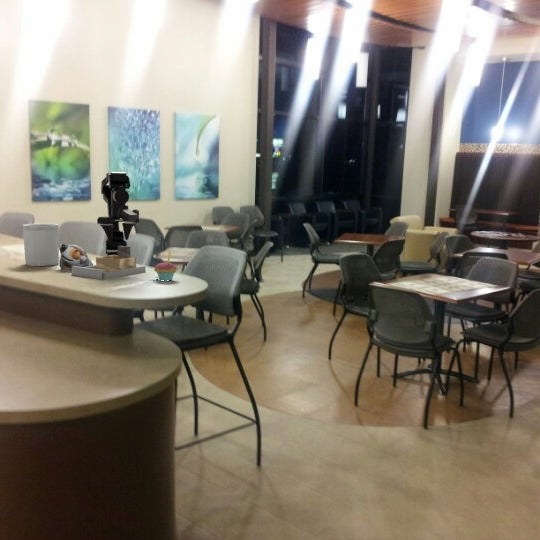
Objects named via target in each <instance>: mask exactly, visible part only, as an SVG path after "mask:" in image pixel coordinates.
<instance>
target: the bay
mask: <svg viewBox="0 0 540 540" xmlns="http://www.w3.org/2000/svg"><path fill="white" fill-rule="evenodd" d="M141 273H143V274H144V273H147V271H146V265H142V266H136V267H134V268H128V269H122V270H116V271H110V272H106V270H101V269H96V264H95V265H94V264H93V266H87V267H79V266H72V269H71V275H72V276H78V277H84V278H90V279H98V280H99V279H100V280H108V279H115V278H119V277H124V276H125V277H126V276H130V275H137V274H141Z"/></svg>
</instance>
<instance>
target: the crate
mask: <svg viewBox="0 0 540 540" xmlns="http://www.w3.org/2000/svg"><path fill="white" fill-rule="evenodd" d="M117 251H118V255H109V256H107V255H101V256H96V257H95V265H96V269H101V270H106V272H110V271H116V270H122V269H128V268H134V267H137V257H135V256H131V246H128V245H127V246H118V250H117Z"/></svg>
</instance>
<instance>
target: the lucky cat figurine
mask: <svg viewBox="0 0 540 540" xmlns="http://www.w3.org/2000/svg"><path fill="white" fill-rule="evenodd" d="M59 255H60V257H59V264H58V266H59V268H60V270H61V271H62V270H72V266H79V267H87V266H93V265H94V263H93V262H92V260H90V258H89V257H88V256H89V255H87V252H86V250H85V249H84V248H82V247H80V246H79V245H78V244H63V243H60V244H59Z"/></svg>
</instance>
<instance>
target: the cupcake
mask: <svg viewBox="0 0 540 540" xmlns="http://www.w3.org/2000/svg"><path fill="white" fill-rule="evenodd" d="M170 258H171V250H169V252H168V256H167V261H165V262H159V263H157V264H156V265H155V267H154V268H153V269H154V272H156V273H157V276H158V279H159V281H160V280H164V281H163V282H168V281H167V280H172V281H173V278H174V275H175V273H176V272H177V270H178V267H177V266H176V265H175V264H174V263H172V262H171V261H170V260H171V259H170Z"/></svg>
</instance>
